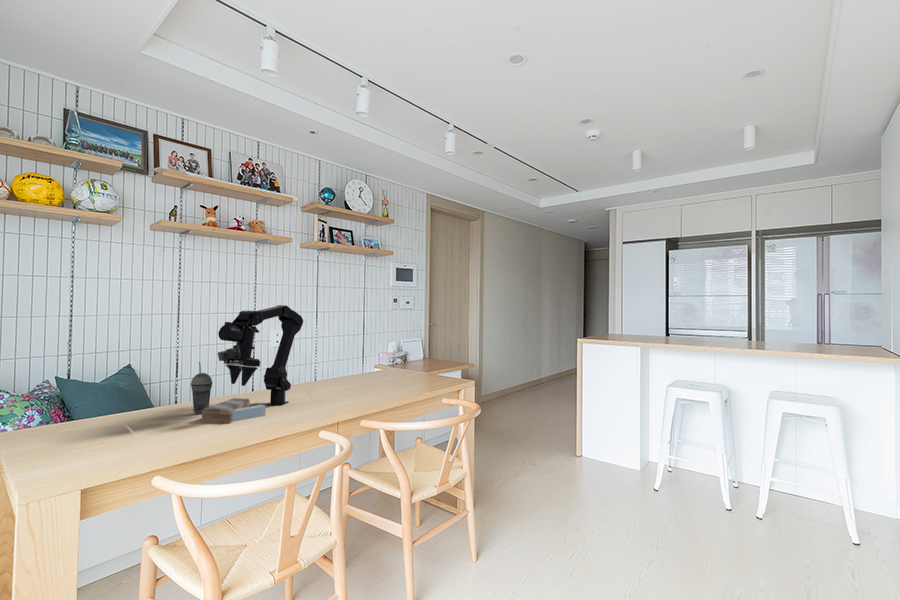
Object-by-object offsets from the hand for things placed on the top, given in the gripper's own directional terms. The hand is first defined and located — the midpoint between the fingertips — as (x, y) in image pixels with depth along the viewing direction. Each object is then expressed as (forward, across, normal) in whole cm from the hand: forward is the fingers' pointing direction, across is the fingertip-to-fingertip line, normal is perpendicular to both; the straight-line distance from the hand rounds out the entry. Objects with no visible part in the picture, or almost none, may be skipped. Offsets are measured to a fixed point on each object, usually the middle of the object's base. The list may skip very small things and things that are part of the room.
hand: (238, 384), depth 160 cm
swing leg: (+12, +4, +3) cm, 13 cm away
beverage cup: (+12, -14, -6) cm, 20 cm away
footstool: (+12, -3, +1) cm, 12 cm away
